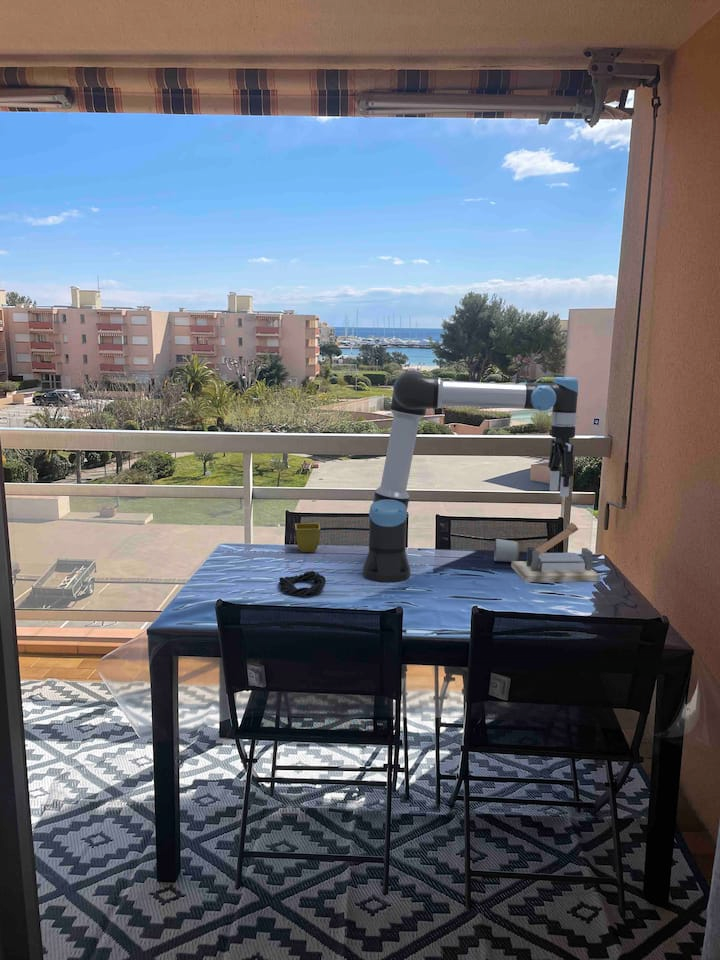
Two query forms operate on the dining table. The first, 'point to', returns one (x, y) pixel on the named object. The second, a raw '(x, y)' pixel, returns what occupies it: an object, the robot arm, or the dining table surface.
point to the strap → (557, 538)
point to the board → (552, 574)
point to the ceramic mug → (506, 550)
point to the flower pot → (307, 536)
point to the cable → (308, 576)
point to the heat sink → (559, 561)
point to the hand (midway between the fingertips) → (558, 493)
